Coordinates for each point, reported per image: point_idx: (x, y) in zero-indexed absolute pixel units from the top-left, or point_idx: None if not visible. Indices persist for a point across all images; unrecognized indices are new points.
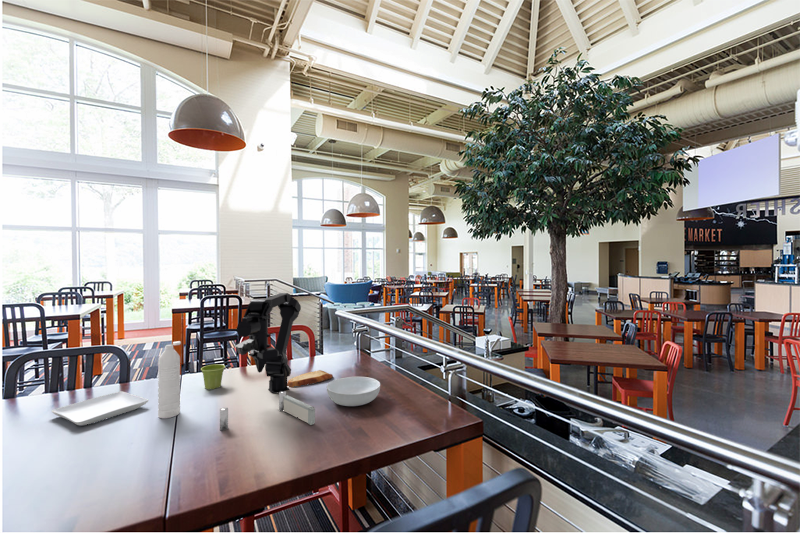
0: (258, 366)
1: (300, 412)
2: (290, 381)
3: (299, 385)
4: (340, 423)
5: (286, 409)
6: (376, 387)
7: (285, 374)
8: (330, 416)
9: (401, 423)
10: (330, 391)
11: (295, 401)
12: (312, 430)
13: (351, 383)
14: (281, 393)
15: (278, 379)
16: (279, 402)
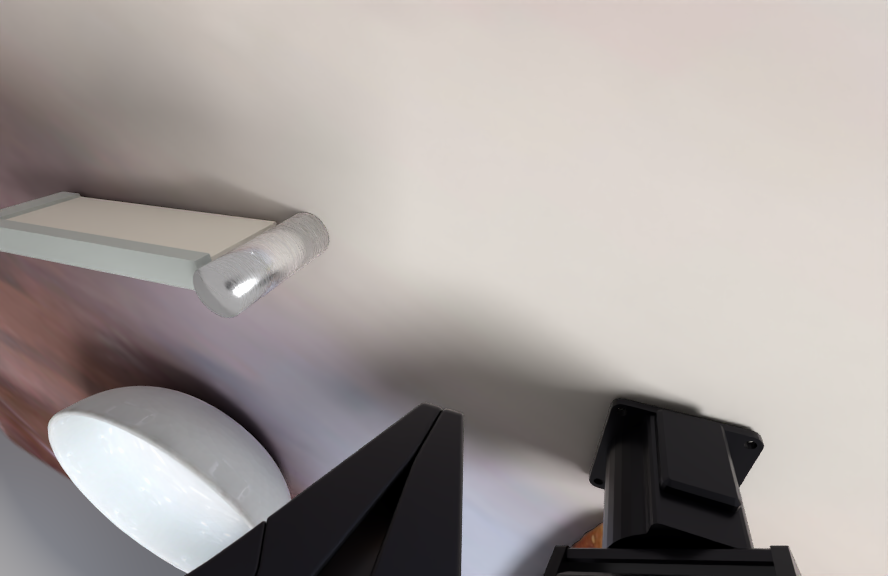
0: (308, 488)
1: (94, 216)
2: None
3: (586, 536)
4: (63, 277)
5: (233, 224)
6: (177, 527)
7: (546, 574)
8: (131, 304)
9: (25, 366)
10: (119, 421)
11: (82, 246)
12: (28, 164)
13: None
14: (196, 272)
15: (621, 519)
16: (267, 235)
